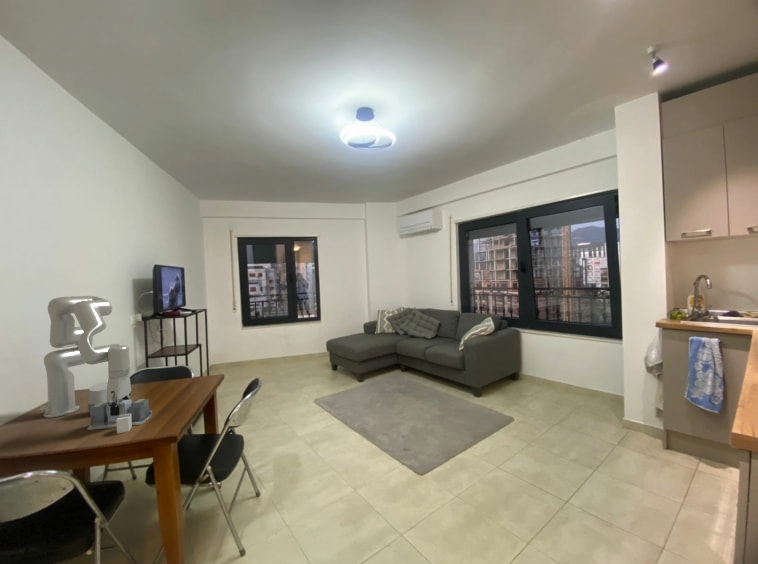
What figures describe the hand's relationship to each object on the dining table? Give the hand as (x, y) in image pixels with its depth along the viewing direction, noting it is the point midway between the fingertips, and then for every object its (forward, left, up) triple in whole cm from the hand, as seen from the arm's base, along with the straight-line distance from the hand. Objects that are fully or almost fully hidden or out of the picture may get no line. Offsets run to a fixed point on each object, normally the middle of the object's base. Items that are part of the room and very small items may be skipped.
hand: (120, 411), depth 143 cm
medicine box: (0, 0, -4) cm, 4 cm away
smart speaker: (-18, +17, -5) cm, 26 cm away
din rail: (0, 0, -5) cm, 5 cm away
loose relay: (+6, -9, -5) cm, 12 cm away
